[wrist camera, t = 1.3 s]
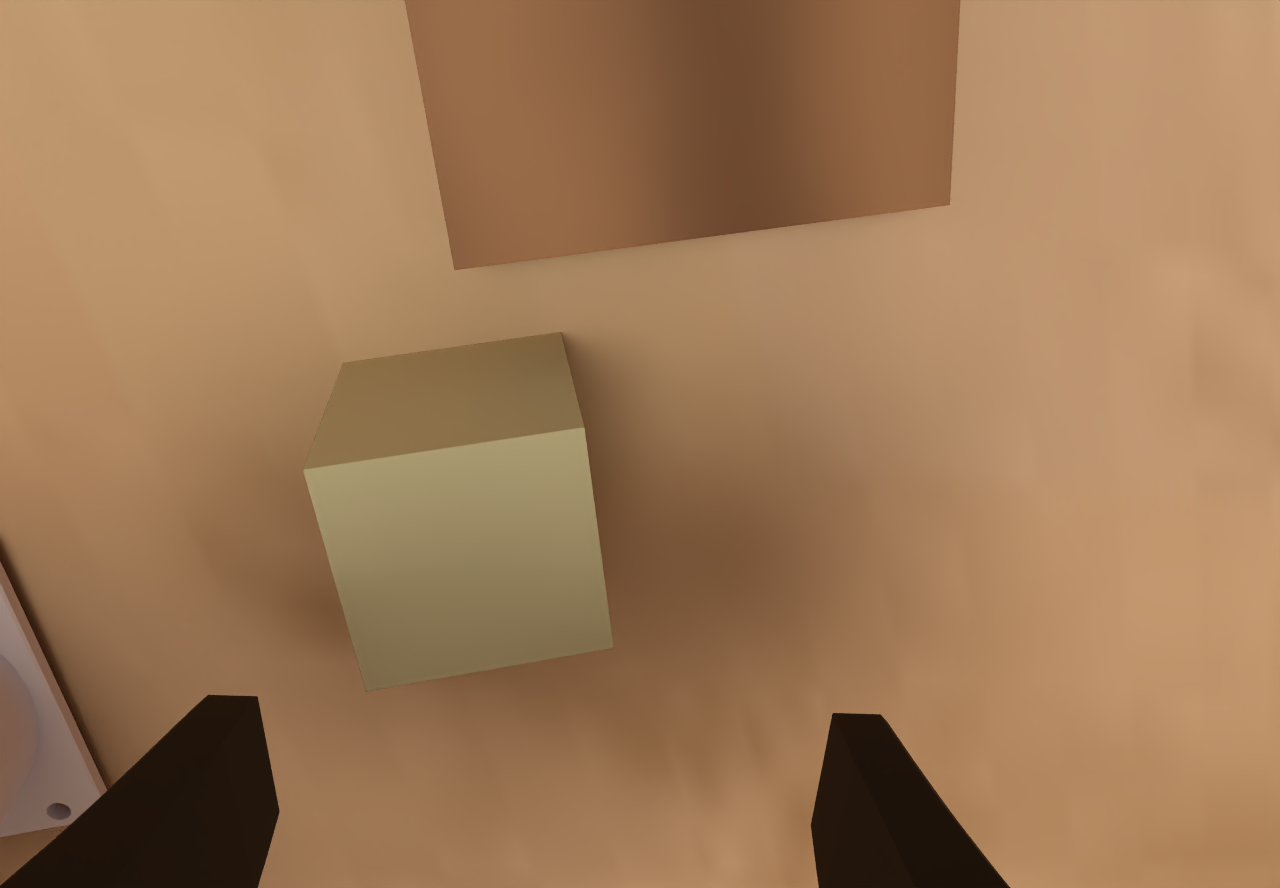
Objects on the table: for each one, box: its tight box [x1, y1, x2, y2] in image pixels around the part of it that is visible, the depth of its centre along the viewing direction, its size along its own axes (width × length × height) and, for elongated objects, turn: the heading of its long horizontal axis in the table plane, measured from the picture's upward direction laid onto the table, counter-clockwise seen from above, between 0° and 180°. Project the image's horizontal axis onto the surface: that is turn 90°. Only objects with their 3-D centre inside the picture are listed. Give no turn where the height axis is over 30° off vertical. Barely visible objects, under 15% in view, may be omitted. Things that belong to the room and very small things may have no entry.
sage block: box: [303, 332, 614, 691], centre depth 18 cm, size 4×4×5 cm
